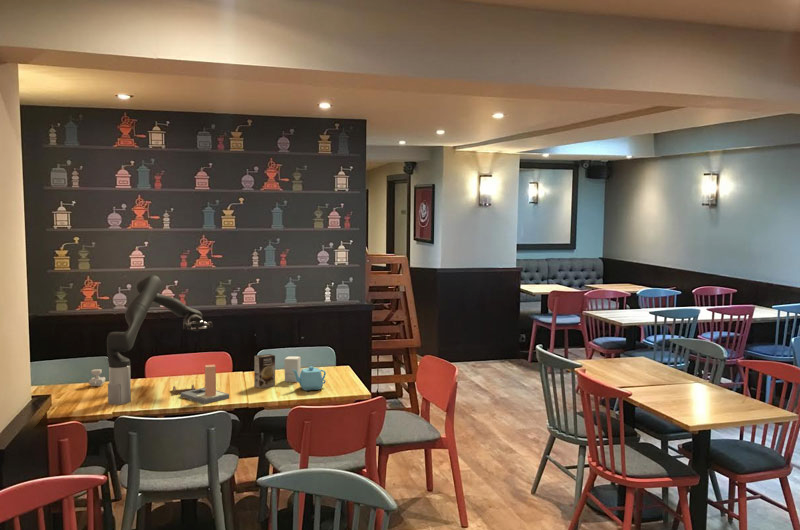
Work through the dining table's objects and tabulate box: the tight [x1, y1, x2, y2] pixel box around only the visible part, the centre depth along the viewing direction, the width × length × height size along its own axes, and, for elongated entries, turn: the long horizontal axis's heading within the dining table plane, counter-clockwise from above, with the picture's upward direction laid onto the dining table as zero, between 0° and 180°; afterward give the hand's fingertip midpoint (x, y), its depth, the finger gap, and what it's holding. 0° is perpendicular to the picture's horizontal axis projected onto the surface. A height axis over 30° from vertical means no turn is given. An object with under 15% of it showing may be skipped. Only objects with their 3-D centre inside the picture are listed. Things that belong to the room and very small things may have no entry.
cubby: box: [172, 384, 196, 395], centre depth 325 cm, size 9×10×2 cm
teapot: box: [292, 365, 327, 392], centre depth 331 cm, size 12×18×12 cm
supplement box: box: [283, 355, 302, 383], centre depth 349 cm, size 7×7×13 cm
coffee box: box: [253, 353, 276, 389], centre depth 336 cm, size 9×6×16 cm
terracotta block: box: [204, 364, 217, 396], centre depth 310 cm, size 4×4×14 cm
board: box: [179, 386, 230, 405], centre depth 314 cm, size 20×14×2 cm
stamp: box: [88, 368, 107, 387], centre depth 334 cm, size 9×7×8 cm
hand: (199, 327), depth 326 cm, fingers open, 8 cm apart
